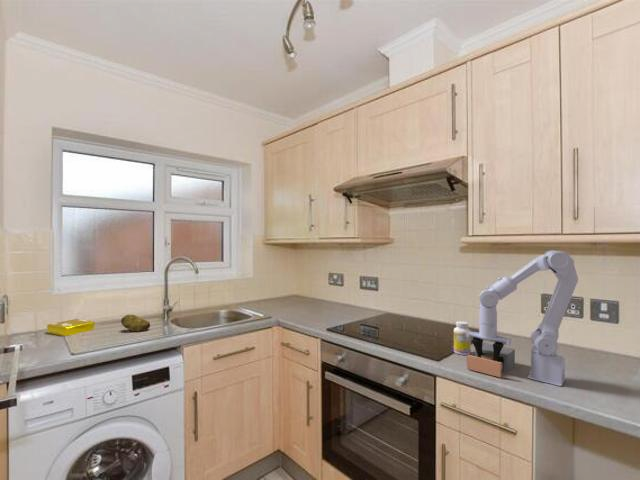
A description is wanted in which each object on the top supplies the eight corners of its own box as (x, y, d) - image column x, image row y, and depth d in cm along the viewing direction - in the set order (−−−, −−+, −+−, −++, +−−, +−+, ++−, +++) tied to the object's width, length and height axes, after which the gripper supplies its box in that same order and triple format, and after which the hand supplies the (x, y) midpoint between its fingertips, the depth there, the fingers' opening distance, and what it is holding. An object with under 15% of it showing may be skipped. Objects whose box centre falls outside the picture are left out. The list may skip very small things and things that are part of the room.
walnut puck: (496, 363, 120) (496, 356, 120) (492, 366, 116) (492, 359, 116) (483, 359, 123) (483, 353, 123) (478, 362, 120) (478, 356, 120)
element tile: (96, 329, 170) (96, 320, 170) (64, 337, 156) (64, 327, 156) (77, 326, 175) (77, 317, 175) (44, 333, 161) (45, 323, 161)
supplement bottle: (456, 349, 143) (456, 319, 143) (472, 352, 139) (472, 322, 139) (451, 353, 138) (451, 322, 138) (468, 356, 134) (468, 325, 134)
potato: (140, 333, 162) (140, 317, 162) (117, 331, 165) (118, 315, 165) (152, 329, 170) (152, 313, 171) (130, 327, 173) (130, 312, 173)
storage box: (514, 364, 125) (514, 349, 125) (507, 371, 118) (507, 355, 118) (483, 357, 133) (484, 342, 133) (475, 363, 126) (475, 348, 126)
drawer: (508, 369, 119) (508, 356, 119) (500, 377, 112) (500, 363, 112) (476, 361, 127) (476, 349, 127) (467, 368, 120) (467, 355, 120)
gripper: (513, 325, 118) (513, 363, 117) (471, 318, 128) (471, 353, 128) (507, 328, 113) (507, 368, 112) (464, 321, 123) (464, 357, 122)
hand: (487, 360), depth 120 cm, fingers closed on walnut puck, 5 cm apart
